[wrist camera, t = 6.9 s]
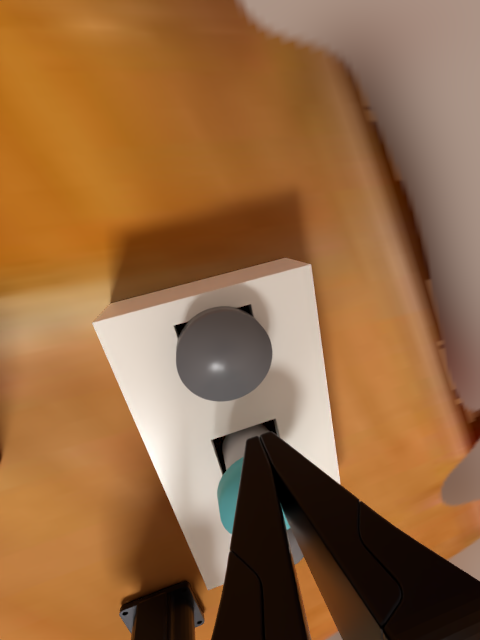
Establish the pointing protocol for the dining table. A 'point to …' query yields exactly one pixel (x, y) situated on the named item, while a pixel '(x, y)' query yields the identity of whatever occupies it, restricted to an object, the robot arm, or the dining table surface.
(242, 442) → the middle knob
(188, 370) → the knob
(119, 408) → the dining table surface
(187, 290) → the knob mount
